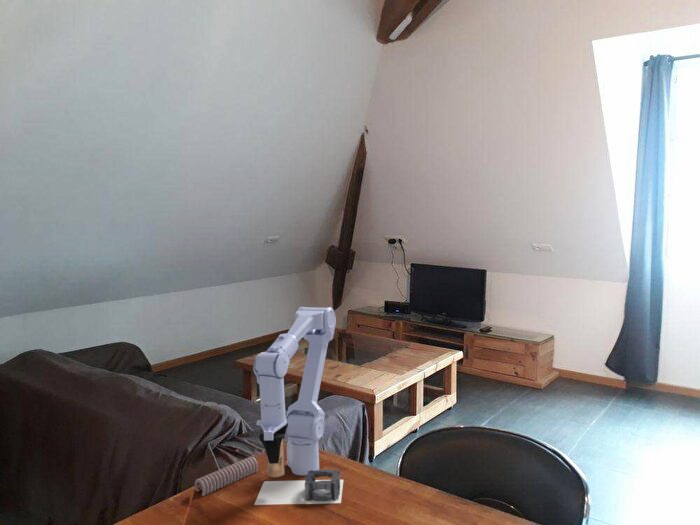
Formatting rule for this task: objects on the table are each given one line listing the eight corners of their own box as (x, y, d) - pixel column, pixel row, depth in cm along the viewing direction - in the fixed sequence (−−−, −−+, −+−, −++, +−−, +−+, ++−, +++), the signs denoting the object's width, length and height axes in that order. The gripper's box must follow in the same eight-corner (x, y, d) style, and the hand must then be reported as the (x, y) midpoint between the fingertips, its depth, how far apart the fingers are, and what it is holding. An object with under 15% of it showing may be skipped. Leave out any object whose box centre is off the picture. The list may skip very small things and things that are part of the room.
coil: (202, 484, 134) (261, 459, 148) (191, 477, 137) (249, 453, 151) (202, 502, 135) (261, 475, 148) (191, 495, 138) (249, 469, 151)
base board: (254, 508, 130) (254, 504, 129) (264, 485, 142) (264, 481, 141) (341, 507, 129) (340, 502, 129) (343, 483, 141) (343, 479, 141)
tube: (284, 469, 136) (282, 432, 136) (284, 476, 132) (282, 438, 132) (267, 470, 136) (265, 434, 135) (267, 478, 132) (265, 440, 131)
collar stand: (304, 501, 130) (303, 484, 130) (308, 485, 138) (307, 469, 138) (338, 500, 130) (338, 484, 129) (340, 485, 138) (340, 469, 137)
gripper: (261, 394, 140) (264, 447, 141) (249, 413, 126) (252, 472, 127) (289, 393, 140) (292, 446, 141) (280, 412, 126) (283, 471, 126)
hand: (275, 458), depth 134 cm, fingers closed on tube, 4 cm apart
